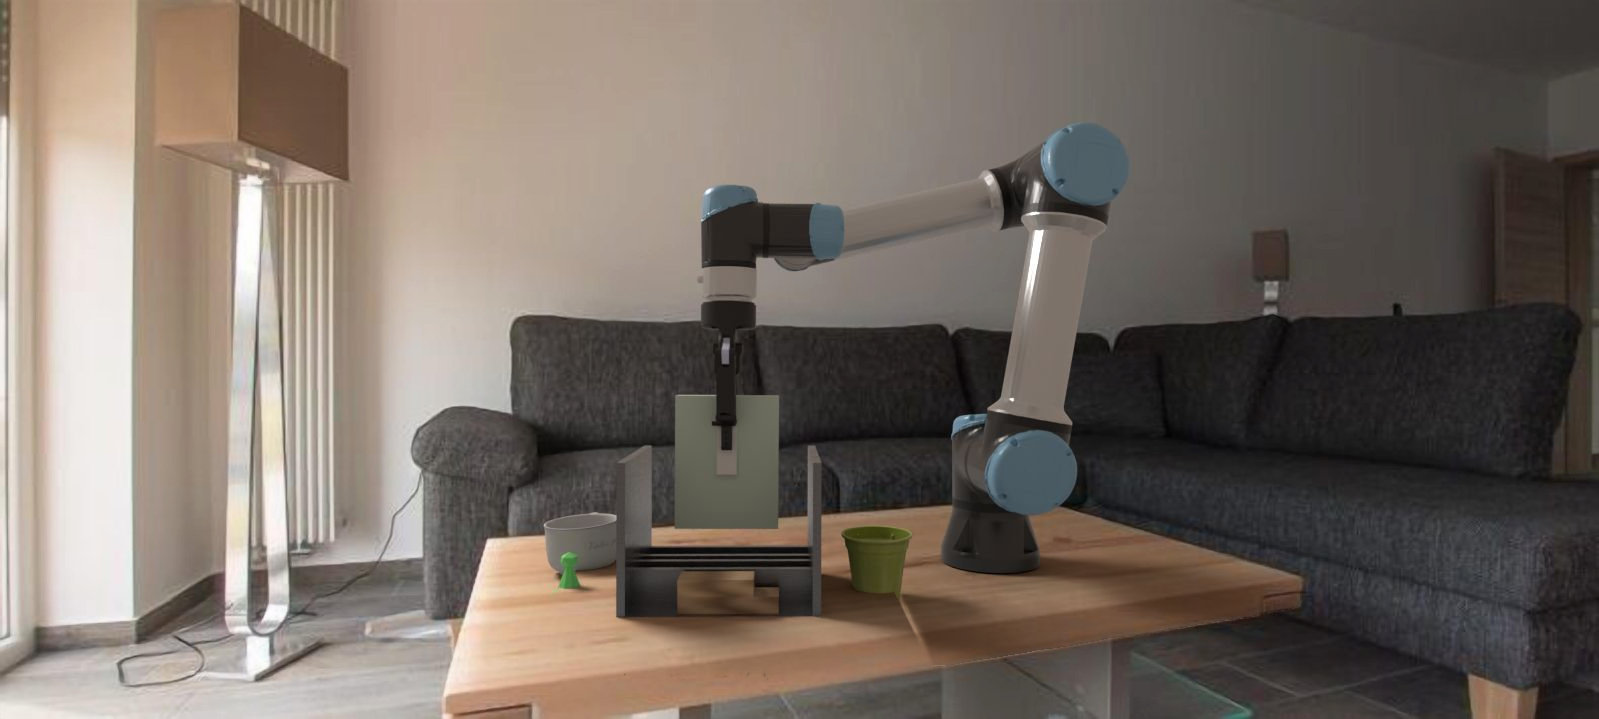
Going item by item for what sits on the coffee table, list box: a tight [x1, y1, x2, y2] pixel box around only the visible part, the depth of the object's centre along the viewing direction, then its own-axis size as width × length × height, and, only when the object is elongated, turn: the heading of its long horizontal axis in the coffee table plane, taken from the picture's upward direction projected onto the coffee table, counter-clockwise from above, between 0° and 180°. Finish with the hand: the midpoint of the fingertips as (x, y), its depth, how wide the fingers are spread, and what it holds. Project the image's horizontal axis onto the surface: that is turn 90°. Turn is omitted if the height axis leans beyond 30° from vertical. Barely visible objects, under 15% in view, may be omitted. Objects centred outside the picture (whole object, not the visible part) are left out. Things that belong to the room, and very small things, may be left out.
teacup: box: [543, 511, 616, 576], centre depth 123 cm, size 14×11×8 cm
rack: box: [615, 445, 823, 618], centre depth 105 cm, size 24×20×20 cm
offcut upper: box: [677, 571, 755, 597], centre depth 99 cm, size 9×4×2 cm, turn 91°
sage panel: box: [674, 394, 780, 530], centre depth 112 cm, size 14×2×18 cm, turn 91°
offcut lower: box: [677, 587, 779, 614], centre depth 99 cm, size 12×4×2 cm, turn 91°
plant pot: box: [840, 525, 913, 600], centre depth 108 cm, size 9×9×9 cm
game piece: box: [552, 552, 581, 595], centre depth 109 cm, size 4×4×6 cm
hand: (727, 472), depth 112 cm, fingers closed on sage panel, 2 cm apart
